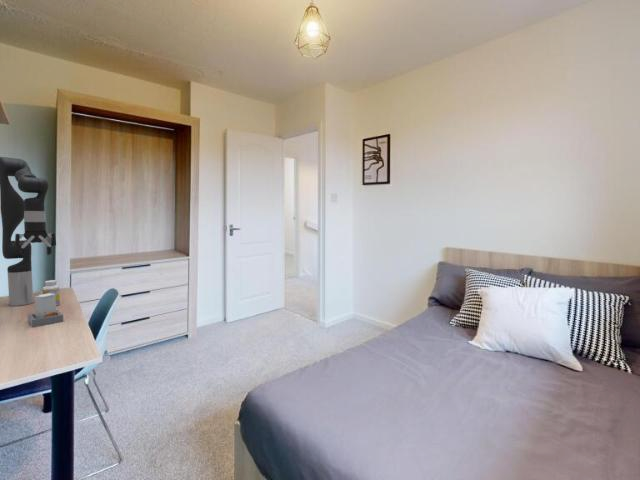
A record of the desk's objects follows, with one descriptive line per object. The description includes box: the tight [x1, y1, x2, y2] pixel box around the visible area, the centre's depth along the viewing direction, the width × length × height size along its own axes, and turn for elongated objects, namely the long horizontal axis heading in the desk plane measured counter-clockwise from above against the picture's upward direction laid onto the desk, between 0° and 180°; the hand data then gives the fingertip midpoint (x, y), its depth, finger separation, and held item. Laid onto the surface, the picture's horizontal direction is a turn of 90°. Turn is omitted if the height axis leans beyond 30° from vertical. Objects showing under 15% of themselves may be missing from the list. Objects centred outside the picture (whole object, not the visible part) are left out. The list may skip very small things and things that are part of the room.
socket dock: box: [27, 309, 64, 328], centre depth 143 cm, size 10×10×3 cm
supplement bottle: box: [42, 279, 61, 307], centre depth 167 cm, size 7×7×13 cm
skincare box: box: [34, 293, 57, 319], centre depth 143 cm, size 6×4×12 cm
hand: (36, 255), depth 151 cm, fingers open, 8 cm apart
